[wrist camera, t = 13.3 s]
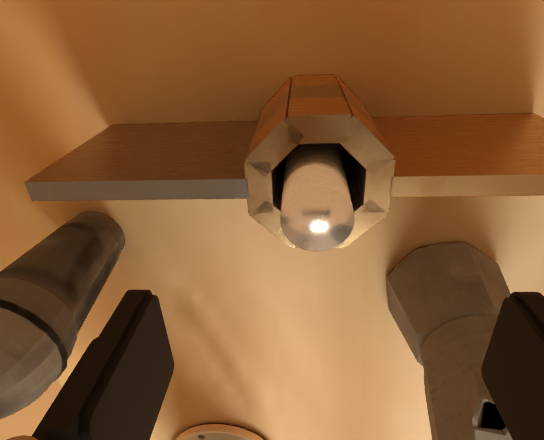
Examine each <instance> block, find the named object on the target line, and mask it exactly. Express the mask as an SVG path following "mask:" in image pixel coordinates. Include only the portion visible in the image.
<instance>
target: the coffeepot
mask: <svg viewBox="0 0 544 440" xmlns="http://www.w3.org/2000/svg"><path fill="white" fill-rule="evenodd" d="M386 280H387V294H388V307H389V310H390V312H391V314H392V316H393V318H394V320H395V321H396V323H397V325H398V327H399V329H400V330H401V332H402V334H403V336H404V338H405V340H406V341H407V343H408V345H409V347H410V349H411V351H412V352H413V354H414V356H415V358H416V360H417V362H419V363H420V364H421V365H422V366H423V367H424V385H425V394H426V401H427V408H428V414H429V421H430V427H431V434H432V440H513V439H512V437H511V435H510V433H509V431H508V429H507V427H506V425H505V423H504V421H503V419H502V417H501V415H500V413H499V411H498V409H497V407H496V405H495V403H494V401H493V399H492V397H491V395H490V393H489V391H488V389H487V387H486V385H485V383H484V381H483V379H482V374H481V368H482V364H483V361H484V358H485V355H486V352H487V349H488V345H489V342H490V339H491V336H492V333H493V330H494V327H495V324H496V321H497V318H498V315H499V312H500V309H501V306H502V302H503V300H504V299H505V298H509V296H510V292H509V289H508V287H507V284H506V282H505V280H504V277H503V275H502V272H501V270H500V268H499V265H498V264H497V263H496V262H494V261H493V260H491V259H490V258H489V257H487V256H486V255H485V254H483V253H482V252H481V251H479V250H477V249H475V248H474V247H472V246H471V245H469V244H468V243H466V242H452V243H438V244H433V245H428V246H426V247H423V248H417V249H416V250H414V251H413V252H411V253H410V254H409V255H407V256H406V257H405V258H404V259H402V260H401V261H400V262H399V263H398V264H397V265H396V267H395V268H394V269H393V271H392V272H391V273H390V274H389V275H388V276H387V277H386Z"/></svg>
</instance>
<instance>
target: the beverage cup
mask: <svg viewBox="0 0 544 440" xmlns="http://www.w3.org/2000/svg"><path fill="white" fill-rule="evenodd" d="M124 243H125V238H124V233H123V231H122V230H121V228H120V226H119V225H118V224H117V223H116V222H115V221H114V220H113V219H111V218H109V217H108V216H106V215H104V214H101V213H98V212H84V213H80V214H79V215H78V216H76V217H75V218H74V219H72V220H71V221H68V222H67V223H65V224H64V225H63V226H61V227H60V228H59V229H57V230H56V231H54V232H53V233H52V234H50V235H49V236H48V237H46V238H45V239H44V240H42V241H41V242H40V243H38V244H37V245H36V246H34V247H33V248H32V249H30V250H29V251H28V252H26V253H25V254H24V255H22V256H21V257H20V258H18V259H17V260H16V261H14V262H13V263H12V264H10V265H9V266H8V267H6V268H5V269H4V270H2V271H1V272H0V419H2V418H5V417H7V416H9V415H12V414H14V413H15V412H17V411H20V410H21V409H23V408H24V407H26V406H28V405H30V404H31V403H32V402H34V401H35V400H36V399H37V398H39V397H40V396H41V395H42V394H43V393H44V392H45V391H46V390H47V389H48V387H49V386H50V385H51V384H52V382H54V381H55V380H56V379H57V378H59V377H60V375H61V374H62V373H63V371H64V370H65V368H66V367H67V359H68V358H69V356H70V355H71V352H72V350H73V347H74V344H75V342H76V339H77V333H78V332H79V330H80V328H81V326H82V324H83V322H84V321H85V319H86V317H87V315H88V313H89V311H90V310H91V308H92V306H93V304H94V302H95V300H96V299H97V297H98V295H99V293H100V291H101V289H102V288H103V286H104V284H105V282H106V280H107V278H108V277H109V275H110V273H111V271H112V269H113V267H114V266H115V264H116V262H117V260H118V257H119V255H120V253H121V250H122V249H123V247H124Z"/></svg>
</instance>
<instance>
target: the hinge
mask: <svg viewBox="0 0 544 440" xmlns="http://www.w3.org/2000/svg"><path fill="white" fill-rule="evenodd" d="M316 143H338V145H339V149H340V154H341V158H342V163H343V167H344V171H345V176H346V180H347V185H348V189H349V193H350V198H351V202H352V207H353V211H354V217H355V222H354V227H353V230H352V232H351V234H350V235H349V237H348V238H347V239H346V240H345V241H344V242H343V243H342V244H340V245H338V246H337V247H335V248H343V247H344V246H345V247H347V246H348V245H349V244H350V243H352V242H353V241H354V240H356V239H357V238H358V237H359V236H361V235H362V234H363V233H365V232H366V231H367V230H368V229H370V228H371V227H372V226H374V225H375V224H376V223H377V222H379V221H380V220H381V219H383V218H384V217H385V216H386V215H388V214H387V212H389V209H390V201H391V197H439V196H533V195H544V118H542V117H540V116H538V115H536V114H534V113H522V114H486V115H451V116H415V117H379V118H371V116H370V114H369V113H368V111H367V109H366V108H365V106H364V104H363V103H362V102H361V101H360V100H359V99H358V98H357V97H356V96H355V95H354V94H353V93H352V91H351V90H350V89H349V88H348V87H347V86H346V85H345V84H344V83H343V82H342V81H341V80H340V79H339V78H338V77H337V76H336V75H334V74H329V75H303V76H293V77H290V78H289V79H288V80H287V82H286V83H285V84H284V85H283V86H282V87H281V88H280V89H279V91H278V92H277V93H276V94H275V95H274V96H273V97H272V98H271V99H270V101H269V102H268V103H267V104H266V105H265V106H264V108H263V111H262V113H261V116H260V119H259V121H236V122H201V123H165V124H129V125H111V126H110V127H108V128H107V129H105V130H103V131H102V132H100V133H99V134H97V135H96V136H94V137H93V138H91V139H90V140H88V141H87V142H85V143H84V144H82V145H81V146H79V147H78V148H76V149H75V150H73V151H71V152H70V153H68V154H67V155H65V156H64V157H62V158H61V159H59V160H58V161H56V162H55V163H53V164H52V165H50V166H49V167H47V168H46V169H44V170H42V171H41V172H39V173H38V174H36V175H35V176H33V177H32V178H30V179H29V180H27V181H26V182H25V185H26V187H27V190H28V192H29V194H30V197H31V199H32V201H63V200H157V199H247V202H248V213H250V216H251V217H252V218H253V219H255V220H256V221H257V222H258V223H260V224H261V225H262V226H263V227H265V228H266V229H267V230H268V231H270V232H271V233H272V234H273V235H274V236H276V237H277V238H278V239H279V240H281V241H282V242H283V243H284V244H286V245H287V246H288V247H289V246H291V248H299V247H297V246H295V245H293V244H292V243H291V242H290V241H289V240H288V239H287V238H286V237H285V235H284V234H283V232H282V229H281V225H280V215H281V204H282V194H283V184H284V174H285V164H286V156H287V155H288V154H289V153H290V152H291V151H292V150H293V149H294V148H295V147H296V146H297V145H298V144H316Z"/></svg>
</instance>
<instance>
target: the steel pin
mask: <svg viewBox="0 0 544 440" xmlns="http://www.w3.org/2000/svg"><path fill="white" fill-rule="evenodd" d="M354 222H355V217H354V211H353V207H352V202H351V198H350V193H349V189H348V185H347V180H346V176H345V171H344V167H343V163H342V158H341V154H340V149H339V145H338V143H316V144H298V145H297V146H296V147H295V148H294V149H293V150H292V151H291V152H290V153H289V154H288V155H287V156H286V164H285V174H284V184H283V194H282V204H281V215H280V225H281V229H282V232H283V234H284V235H285V237H286V238H287V239H288V240H289V241H290V242H291V243H292V244H293V245H295V246H297V247H299V248H301V249H304V250H308V251H325V250H329V249H332V248H335V247H337V246H338V245H340V244H342V243H343V242H344V241H345V240H346V239H347V238H348V237H349V235H350V234H351V232H352V230H353V227H354Z"/></svg>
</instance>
